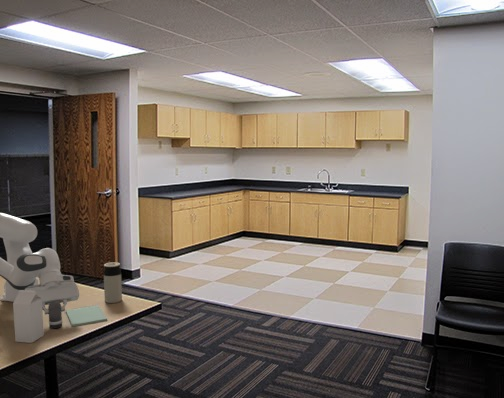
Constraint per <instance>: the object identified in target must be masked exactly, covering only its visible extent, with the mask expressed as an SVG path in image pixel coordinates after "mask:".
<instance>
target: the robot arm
mask: <svg viewBox="0 0 504 398" xmlns="http://www.w3.org/2000/svg"><path fill="white" fill-rule="evenodd" d="M37 236H38V229H37V227H36V225H35V224H34V223H32V222H31V221H29V220H26V219H22V218H20V217H16V216H13V215H11V214H7V213H4V212H0V238H1V239H2V240H3V244H4V247H5V253H6V260H5V259H3V258H2V257H1V256H0V277H1V278H3V279H4V280H5V282H4V283H3V288H4V293H3V294H2V296H1V297H0V301H3V302H5V301H7V302H13V303H14V301H15V299H16V297H17V295H18V293H19V290H24V291H36V294H37V295H38V296H39V297H40V298H42V311H43V313H44V315H49V310H48V308H46V306H49V304H50V303H51V302H53V301H57V302H59V303H60V304H61V303H62V304H63V305H61V313H64V312H66V306H67V304H68V302H74V301H78V300H79V298H80V291H79V288H78V285H77V283H76V282H75V279H74V276H73V275H67V274H66V275H65V274H62V272H61V262H60V258H59V255H58V253H57V252H56V250H55V249H53V248H50V247H46V248H42V249H39V250H38V251H36V252H33V251H32V249H31V247H30V244H29V243H31V242H33V241H35V240H36V238H37ZM38 278H39V279H38Z"/></svg>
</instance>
